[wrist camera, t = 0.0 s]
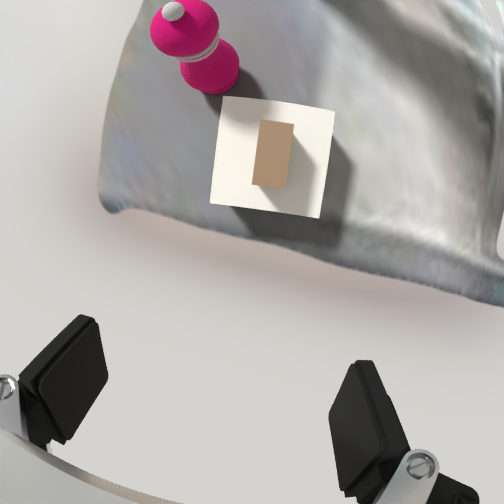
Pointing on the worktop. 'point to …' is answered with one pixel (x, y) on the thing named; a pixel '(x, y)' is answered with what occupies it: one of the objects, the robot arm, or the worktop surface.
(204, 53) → the pepper mill
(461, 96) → the worktop surface
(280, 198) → the cover
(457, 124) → the worktop surface
